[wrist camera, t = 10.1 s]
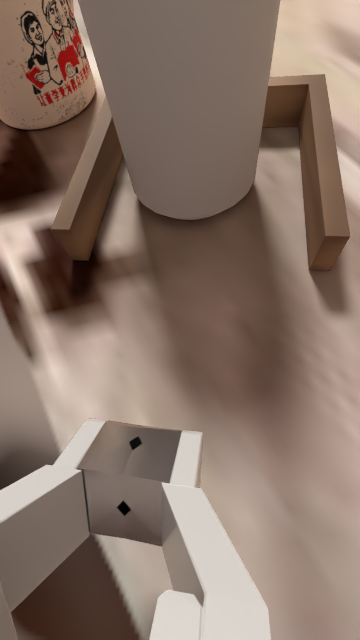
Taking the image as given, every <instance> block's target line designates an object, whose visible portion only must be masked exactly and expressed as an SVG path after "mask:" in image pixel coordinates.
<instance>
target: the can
mask: <svg viewBox="0 0 360 640" xmlns="http://www.w3.org/2000/svg"><path fill="white" fill-rule="evenodd" d="M78 2H79V5H80V9H81V12H82V16H83V19H84V22H85V26H86V29H87V33H88V36H89V39H90V43H91V46H92V50H93V53H94V57H95V60H96V63H97V67H98V70H99V74H100V77H101V80H102V84H103V87H104V91H105V94H106V97H107V101H108V104H109V108H110V111H111V114H112V118H113V121H114V125H115V128H116V131H117V135H118V138H119V142H120V145H121V148H122V152H123V155H124V159H125V162H126V165H127V169H128V172H129V176H130V179H131V182H132V186H133V189H134V192H135V194H136V195H137V197H138V198H139V200H140V201H141V203H142V204H143V205H145V206H146V207H148V208H149V209H151V210H152V211H154V212H155V213H158V214H161V215H165V216H168V217H172V218H176V219H180V220H198V219H202V218H207V217H211V216H213V215H216V214H218V213H220V212H222V211H224V210H226V209H228V208H230V207H232V206H234V205H235V204H237V203H238V202H239V201H240V200H241V199H242V198H243V197H244V196H245V195H247V194H248V192H249V190H250V188H251V186H252V184H253V182H254V180H255V174H256V167H257V160H258V153H259V146H260V139H261V132H262V125H263V118H264V111H265V104H266V96H267V89H268V82H269V75H270V68H271V61H272V54H273V47H274V40H275V33H276V26H277V19H278V12H279V5H280V0H78Z"/></svg>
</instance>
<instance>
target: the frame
mask: <svg viewBox="0 0 360 640" xmlns="http://www.w3.org/2000/svg"><path fill="white" fill-rule="evenodd" d="M290 126H298V130H299V143H300V157H301V170H302V184H303V197H304V211H305V225H306V238H307V252H308V265H309V270H324V271H330V269H331V268H332V266H333V264H334V263H335V261H336V259H337V258H338V256H339V254H340V253H341V251H342V249H343V248H344V246H345V244H346V242H347V241H348V239H349V237H350V232H349V226H348V220H347V213H346V207H345V200H344V194H343V188H342V181H341V175H340V168H339V162H338V156H337V149H336V143H335V136H334V130H333V124H332V117H331V111H330V104H329V98H328V92H327V85H326V79H325V74H321V75H302V76H284V77H269V82H268V89H267V96H266V104H265V111H264V118H263V125H262V127H290ZM122 156H123V152H122V148H121V145H120V142H119V138H118V135H117V131H116V128H115V125H114V121H113V118H112V114H111V111H110V108H109V104H108V101H107V97H105V100H104V102H103V105H102V107H101V109H100V112H99V114H98V117H97V119H96V121H95V124H94V126H93V129H92V131H91V133H90V136H89V138H88V141H87V143H86V146H85V148H84V150H83V153H82V155H81V158H80V160H79V162H78V165H77V167H76V170H75V172H74V174H73V177H72V179H71V182H70V184H69V186H68V189H67V191H66V194H65V196H64V199H63V201H62V203H61V206H60V208H59V211H58V213H57V215H56V218H55V220H54V223H53V225H52V227H51V230H52V232H53V233H54V234H55V236H56V237H57V239H58V240H59V242H60V243H61V244H62V246H63V247H64V249H65V250H66V252H67V253H68V254H69V256H70V257H71V259H72V260H82V261H89V258H90V255H91V252H92V249H93V246H94V243H95V240H96V236H97V233H98V230H99V227H100V224H101V221H102V218H103V215H104V212H105V209H106V205H107V202H108V199H109V196H110V193H111V190H112V187H113V184H114V181H115V178H116V175H117V171H118V168H119V165H120V162H121V159H122Z"/></svg>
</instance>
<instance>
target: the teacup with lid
mask: <svg viewBox="0 0 360 640" xmlns="http://www.w3.org/2000/svg"><path fill="white" fill-rule="evenodd" d="M94 93H95V81H94V78H93V75H92V72H91V69H90V65H89V62H88V59H87V56H86V53H85V49H84V46H83V43H82V40H81V37H80V33H79V30H78V27H77V24H76V21H75V17H74V8H73V0H0V119H1V120H2V121H3V122H4V123H5V124H7V125H9V126H11V127H14V128H19V129H30V130H31V129H41V128H47V127H51V126H54V125H57V124H60V123H62V122H65V121H67V120H69V119H71V118H73V117H74V116H76V115H77V114H79V113H80V112H81V111H82V110H84V109H85V108H86V107H87V105H88V104H89V103H90V102H91V100H92V98H93V96H94Z"/></svg>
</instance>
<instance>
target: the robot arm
mask: <svg viewBox="0 0 360 640" xmlns="http://www.w3.org/2000/svg"><path fill="white" fill-rule="evenodd" d="M202 446H203V433H202V432H197V431H187V430H183V431H182V430H174V429H165V428H157V427H148V426H141V425H135V424H128V423H121V422H115V421H106V420H99V419H92V418H90V419H88V420H86V421H85V422H84V423H83V425H82V426H81V428H80V429H79V430H78V432H77V433H76V434H75V436H74V437H73V438H72V440H71V441H70V443H69V444H68V445H67V447H66V448H65V449H64V451H63V452H62V453H61V455H60V456H59V458H58V459H57V460H56V462H55V463H54V464H53V466H51V465H45V466H44V467H42V468H40V469H38V470H36V471H35V472H33V473H31V474H29V475H28V476H26V477H24V478H22V479H20V480H19V481H17V482H15V483H13V484H12V485H10V486H8V487H6V488H4V489H2V490H1V491H0V640H18V638H17V634H16V631H15V628H14V624H13V621H12V617H11V614H10V612H11V611H12V610H13V609H14V608H16V607H17V606H18V605H19V604H20V603H21V602H22V601H23V600H24V599H25V598H26V597H27V596H28V595H29V594H30V593H31V592H32V591H33V590H34V589H35V588H36V587H37V586H38V585H39V584H40V583H41V582H42V581H43V580H44V579H45V578H46V577H47V576H48V575H49V574H50V573H51V572H53V571H54V570H55V569H56V568H57V567H58V566H59V565H60V564H61V563H62V562H63V561H64V560H65V559H66V558H67V557H68V556H69V555H70V554H71V553H72V552H73V551H74V550H75V549H76V548H77V547H78V546H79V545H80V544H81V543H82V542H83V541H84V540H85V539H86V538H87V537H88V536H89V533H93V534H99V535H106V536H113V537H119V538H126V539H130V540H135V541H139V542H144V543H148V544H153V545H157V546H162V550H163V553H164V557H165V561H166V564H167V568H168V571H169V575H170V578H171V582H172V586H173V589H174V591H173V590H168V589H167V590H166V591H165V592H164V593H163V594H162V595H161V596H159V597H158V600H157V605H156V610H155V614H154V619H153V624H152V629H151V634H150V639H149V640H271V636H270V626H269V615H268V607H267V606H266V604H265V602H264V600H263V598H262V597H261V595H260V593H259V591H258V589H257V587H256V586H255V584H254V582H253V580H252V578H251V576H250V575H249V573H248V571H247V569H246V567H245V566H244V564H243V562H242V560H241V558H240V556H239V555H238V553H237V551H236V549H235V547H234V546H233V544H232V542H231V540H230V538H229V536H228V535H227V533H226V531H225V529H224V527H223V525H222V524H221V522H220V520H219V518H218V516H217V515H216V513H215V511H214V509H213V507H212V505H211V504H210V502H209V500H208V498H207V496H206V494H205V493H204V491H203V489H201V488H200V480H201V464H202Z"/></svg>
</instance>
